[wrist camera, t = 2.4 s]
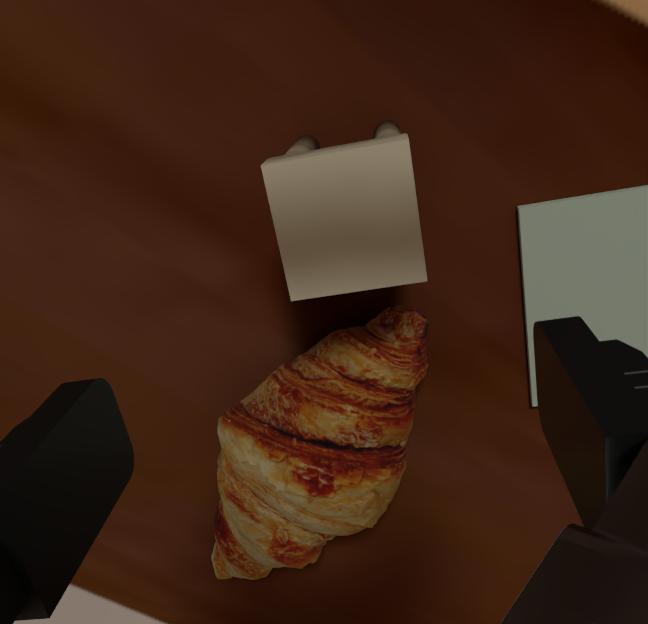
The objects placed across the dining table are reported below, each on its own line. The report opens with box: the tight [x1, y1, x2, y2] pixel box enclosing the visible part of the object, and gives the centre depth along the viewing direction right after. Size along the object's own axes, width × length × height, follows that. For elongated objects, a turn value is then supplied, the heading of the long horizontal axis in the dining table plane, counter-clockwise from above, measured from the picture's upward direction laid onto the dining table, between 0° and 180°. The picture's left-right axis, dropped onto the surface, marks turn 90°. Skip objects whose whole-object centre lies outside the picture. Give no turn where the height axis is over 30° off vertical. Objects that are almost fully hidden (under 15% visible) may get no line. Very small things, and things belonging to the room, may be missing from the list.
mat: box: [517, 185, 648, 407], centre depth 31 cm, size 11×11×1 cm
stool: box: [261, 120, 427, 301], centre depth 26 cm, size 5×5×8 cm
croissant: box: [211, 305, 429, 580], centre depth 33 cm, size 21×10×8 cm, turn 151°
